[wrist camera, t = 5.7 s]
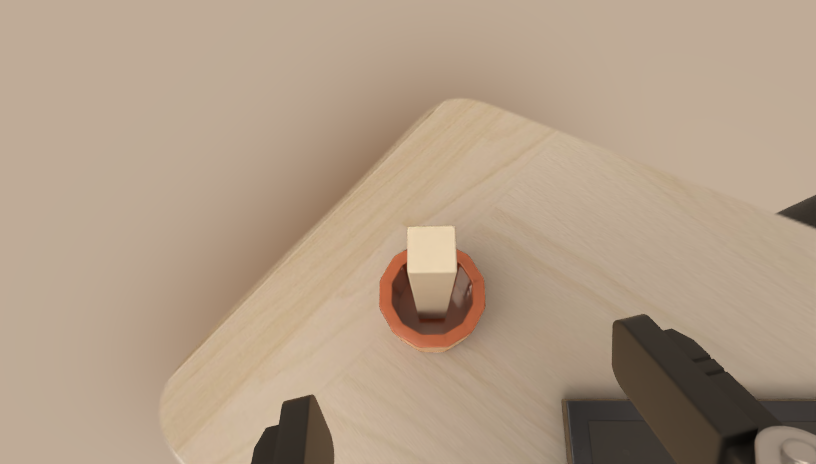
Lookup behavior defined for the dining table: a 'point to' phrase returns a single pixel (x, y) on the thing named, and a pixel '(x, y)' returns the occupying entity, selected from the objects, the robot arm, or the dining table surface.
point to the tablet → (644, 430)
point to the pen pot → (432, 332)
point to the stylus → (431, 268)
